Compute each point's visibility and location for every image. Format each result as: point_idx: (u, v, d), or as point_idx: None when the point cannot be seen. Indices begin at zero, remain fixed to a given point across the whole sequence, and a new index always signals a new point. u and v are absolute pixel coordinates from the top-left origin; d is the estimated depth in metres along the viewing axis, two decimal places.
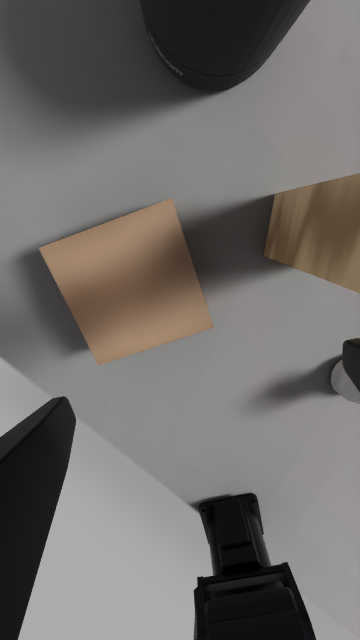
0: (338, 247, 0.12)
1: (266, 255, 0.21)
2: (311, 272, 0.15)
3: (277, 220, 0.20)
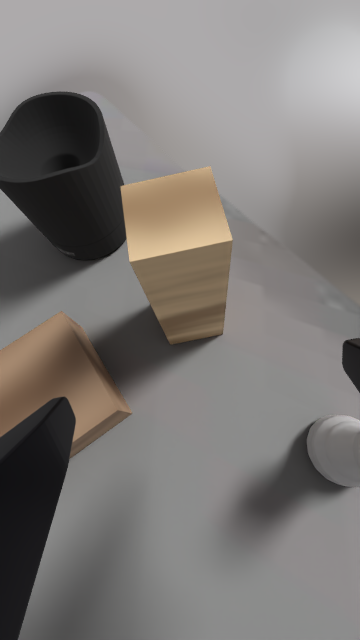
0: None
1: (169, 341, 0.23)
2: (151, 304, 0.16)
3: None
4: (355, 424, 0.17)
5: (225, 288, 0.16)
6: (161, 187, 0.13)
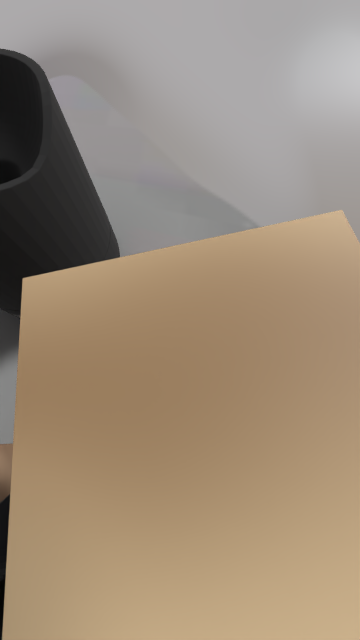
0: None
1: None
2: None
3: None
4: None
5: None
6: (168, 291, 0.04)
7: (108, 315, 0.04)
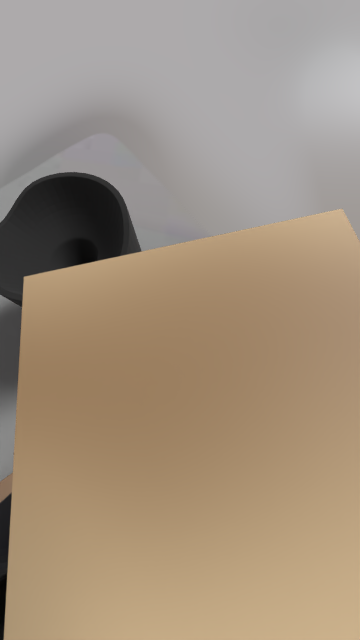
0: None
1: None
2: None
3: None
4: None
5: None
6: (169, 289, 0.04)
7: (109, 313, 0.04)
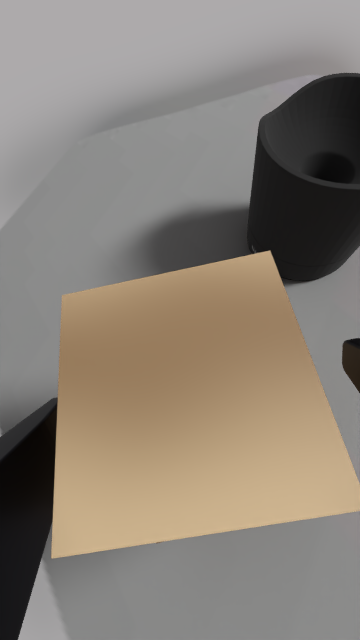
0: None
1: None
2: None
3: None
4: None
5: None
6: (155, 303, 0.06)
7: (116, 318, 0.06)
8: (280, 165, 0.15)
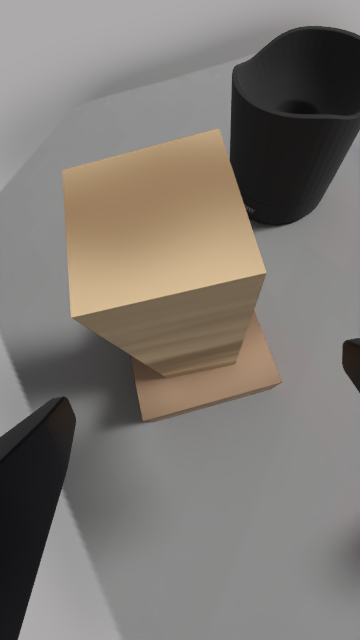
0: None
1: (165, 375, 0.18)
2: (131, 353, 0.11)
3: None
4: None
5: (244, 328, 0.10)
6: (133, 170, 0.08)
7: (105, 182, 0.08)
8: (249, 101, 0.17)
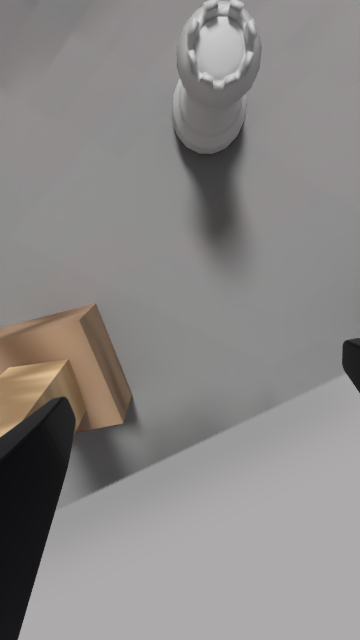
0: None
1: None
2: None
3: None
4: None
5: None
6: None
7: None
8: None
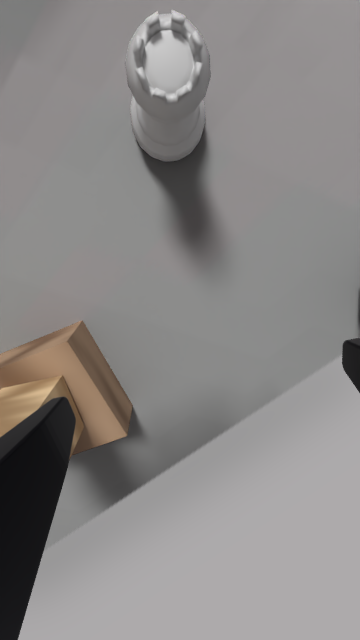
0: None
1: (79, 433, 0.20)
2: None
3: None
4: None
5: None
6: None
7: None
8: None
